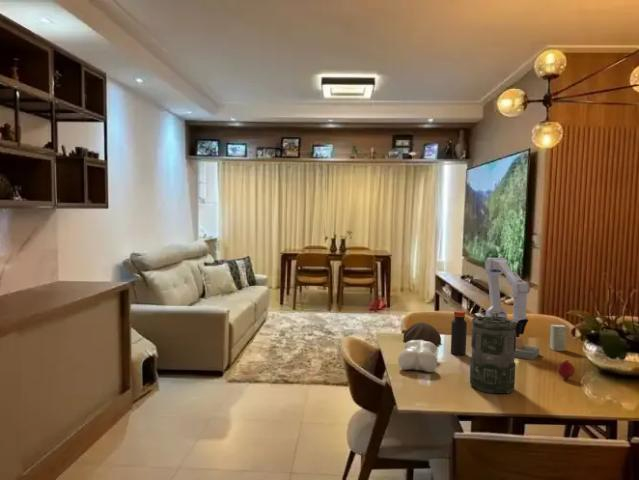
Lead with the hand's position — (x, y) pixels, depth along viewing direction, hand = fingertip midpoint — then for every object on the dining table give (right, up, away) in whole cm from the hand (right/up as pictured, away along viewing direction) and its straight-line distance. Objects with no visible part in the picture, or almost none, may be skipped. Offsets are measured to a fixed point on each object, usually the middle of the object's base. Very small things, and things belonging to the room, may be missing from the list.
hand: (518, 335), depth 229 cm
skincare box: (+23, -9, +10) cm, 27 cm away
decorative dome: (-42, -8, +21) cm, 47 cm away
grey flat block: (0, -9, 0) cm, 9 cm away
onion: (+4, -11, -35) cm, 37 cm away
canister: (-30, -10, -47) cm, 57 cm away
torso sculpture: (-51, -9, -19) cm, 55 cm away
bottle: (-29, -9, -2) cm, 30 cm away
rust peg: (0, -9, 0) cm, 9 cm away
